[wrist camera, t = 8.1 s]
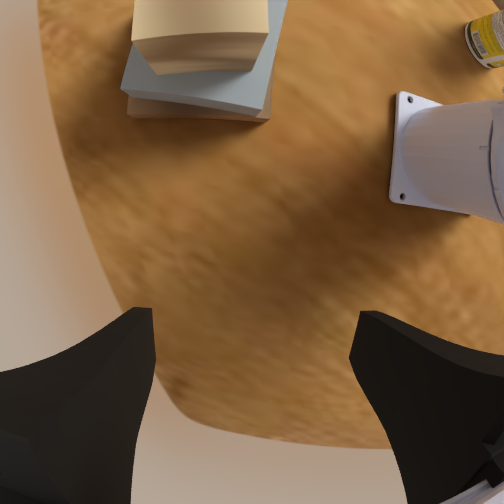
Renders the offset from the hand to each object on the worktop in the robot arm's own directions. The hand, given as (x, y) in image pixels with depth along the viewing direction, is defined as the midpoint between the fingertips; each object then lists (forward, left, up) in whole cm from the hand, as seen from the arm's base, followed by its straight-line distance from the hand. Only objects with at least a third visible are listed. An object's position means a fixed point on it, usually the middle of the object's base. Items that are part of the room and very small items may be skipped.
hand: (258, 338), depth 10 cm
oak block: (+3, -12, -6) cm, 14 cm away
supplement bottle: (-20, -20, -11) cm, 30 cm away
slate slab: (+3, -12, -8) cm, 15 cm away
